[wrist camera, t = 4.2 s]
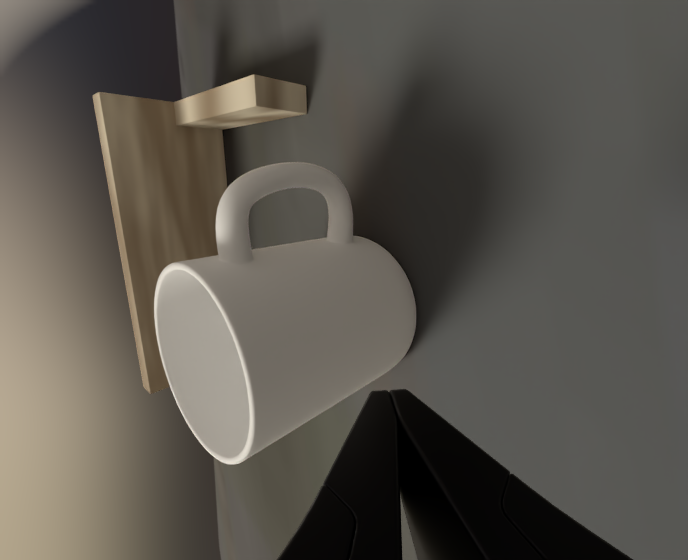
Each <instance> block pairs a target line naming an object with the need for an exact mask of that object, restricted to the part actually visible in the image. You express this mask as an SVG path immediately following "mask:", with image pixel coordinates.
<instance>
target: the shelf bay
mask: <svg viewBox="0 0 688 560" xmlns="http://www.w3.org/2000/svg"><path fill="white" fill-rule="evenodd" d="M93 101H94V107H95V112H96V119H97V124H98V130H99V136H100V141H101V147H102V152H103V159H104V164H105V170H106V176H107V181H108V187H109V193H110V198H111V203H112V209H113V215H114V221H115V226H116V232H117V238H118V243H119V250H120V255H121V260H122V267H123V272H124V278H125V284H126V289H127V295H128V301H129V306H130V312H131V318H132V323H133V329H134V335H135V340H136V346H137V352H138V358H139V363H140V369H141V375H142V380H143V386H144V388H145V389H146V390H147V391H148V392H149V393H150V394H152V393H155V392H157V391H160V390H162V389H165V388H167V387H170V385H169V382H168V379H167V376H166V373H165V370H164V367H163V363H162V359H161V355H160V351H159V346H158V341H157V336H156V328H155V318H154V297H155V290H156V285H157V281H158V278H159V276H160V274H161V272H162V271H163V269H164V268H165V267H166V266H168V265H169V264H171V263H174V262H179V261H186V260H192V259H198V258H204V257H210V256H216V255H218V249H217V241H216V214H217V208H218V205H219V202H220V199H221V197H222V195H223V193H224V192H225V190H226V189H227V177H226V166H225V155H224V144H223V133H222V130H224V129H229V128H235V127H240V126H245V125H251V124H256V123H261V122H267V121H272V120H277V119H282V118H288V117H293V116H298V115H304V114H307V100H306V86H304V85H300V84H296V83H291V82H287V81H282V80H278V79H273V78H269V77H264V76H260V75H256V74H253V75H250V76H248V77H245V78H242V79H239V80H236V81H233V82H230V83H228V84H225V85H222V86H219V87H216V88H213V89H210V90H207V91H205V92H202V93H199V94H196V95H193V96H190V97H187V98H185V99H182V100H179V101H176V102H168V101H161V100H154V99H146V98H139V97H132V96H124V95H117V94H110V93H102V92H98V93H96V94H95V95H93Z"/></svg>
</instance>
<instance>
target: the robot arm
mask: <svg viewBox="0 0 688 560" xmlns="http://www.w3.org/2000/svg"><path fill="white" fill-rule="evenodd" d="M400 495H401V499H402V503H403V507H404V510H405V514H406V518H407V521H408V525H409V529H410V532H411V536H412V540H413V543H414V547H415V551H416V554H417V558H418V560H633V559H631V558H630V557H628V556H627V555H625V554H624V553H622V552H621V551H619V550H618V549H616V548H615V547H613V546H612V545H610V544H609V543H607V542H606V541H605V540H603V539H602V538H600V537H599V536H597V535H596V534H594V533H593V532H591V531H590V530H588V529H587V528H585V527H584V526H582V525H581V524H580V523H578V522H577V521H575V520H574V519H572V518H571V517H570V516H568V515H567V514H565V513H564V512H562V511H561V510H559V509H558V508H557V507H555V506H554V505H552V504H551V503H550V502H549V501H547V500H546V499H545V498H543V497H542V496H541V495H539V494H538V493H537V492H535V491H534V490H533V489H531V488H530V487H529V486H528V485H526V484H525V483H524V482H523V481H521V480H520V479H519V478H517V477H516V476H515V475H514V474H510V472H509V471H508V470H507V469H506V468H505V467H503V466H502V465H501V464H500V463H498V462H497V461H496V460H495V459H493V458H492V457H491V456H490V455H488V454H487V453H486V452H485V451H483V450H482V449H481V448H480V447H478V446H477V445H476V444H475V443H473V442H472V441H471V440H470V439H468V438H467V437H466V436H465V435H463V434H462V433H461V432H460V431H458V430H457V429H456V428H455V427H453V426H452V425H451V424H450V423H448V422H447V421H446V420H445V419H443V418H442V417H441V416H439V415H438V414H437V413H436V412H434V411H433V410H432V409H431V408H429V407H428V406H427V405H426V404H424V403H423V402H422V401H421V400H419V399H418V398H417V397H416V396H414V395H413V394H412V393H411V392H409V391H408V390H406V389H398V390H391V391H390V392H388V391H386V390H382V391H372V392H371V393H370V394H369V396H368V398H367V400H366V402H365V404H364V406H363V408H362V410H361V412H360V413H359V415H358V417H357V419H356V421H355V423H354V425H353V427H352V429H351V431H350V433H349V435H348V437H347V439H346V440H345V442H344V444H343V446H342V448H341V450H340V452H339V454H338V456H337V458H336V460H335V462H334V464H333V465H332V467H331V469H330V471H329V473H328V475H327V477H326V479H325V481H324V483H323V486H321V488H320V490H319V492H318V494H317V496H316V498H315V500H314V502H313V503H312V505H311V507H310V509H309V510H308V512H307V514H306V516H305V517H304V519H303V521H302V523H301V524H300V526H299V527H298V529H297V530H296V532H295V533H294V535H293V536H292V538H291V539H290V541H289V542H288V544H287V545H286V547H285V548H284V550H283V551H282V553H281V554H280V555H279V557H278V558H277V560H402V537H401V506H400Z"/></svg>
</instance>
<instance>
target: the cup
mask: <svg viewBox="0 0 688 560" xmlns="http://www.w3.org/2000/svg"><path fill="white" fill-rule="evenodd" d="M289 188H309V189H313V190H316V191H318V192H320V193H321V194H322V195H323V196H324V197H325V199H326V202H327V205H328V213H329V221H328V232H327V237H326V238H320V239H314V240H308V241H302V242H296V243H290V244H283V245H277V246H271V247H265V248H259V249H253V250H252V249H251V242H250V235H249V224H248V218H249V212H250V209H251V207H252V205H253V204H254V203H255V202H256V201H258V200H259V199H261V198H262V197H264V196H266V195H269V194H271V193H274V192H276V191H280V190H284V189H289ZM216 241H217V249H218V255H216V256H210V257H204V258H198V259H192V260H186V261H179V262H174V263H171V264H169V265H168V266H166V267H165V268H164V269H163V271H162V272H161V274H160V276H159V278H158V281H157V285H156V290H155V297H154V318H155V328H156V336H157V341H158V346H159V351H160V355H161V359H162V363H163V367H164V370H165V373H166V376H167V379H168V382H169V385H170V388H171V390H172V393H173V395H174V398H175V400H176V402H177V405H178V407H179V409H180V411H181V413H182V415H183V416H184V418H185V420H186V422H187V424H188V426H189V427H190V429H191V430H192V432H193V434H194V435H195V436H196V438H197V439H198V440H199V442H200V443H201V444H202V446H203V447H204V448H205V449H206V450H207V451H208V452H209V453H210V454H211V455H212V456H214V457H215V458H216V459H218V460H219V461H221V462H223V463H226V464H239V463H241V462H243V461H244V460H246V459H248V458H249V457H251V456H252V455H254V454H256V453H257V452H259V451H261V450H262V449H264V448H265V447H267V446H269V445H270V444H272V443H273V442H275V441H277V440H278V439H280V438H282V437H283V436H285V435H286V434H288V433H290V432H291V431H293V430H294V429H296V428H298V427H299V426H301V425H303V424H304V423H306V422H307V421H309V420H311V419H312V418H314V417H315V416H317V415H319V414H320V413H322V412H324V411H325V410H327V409H328V408H330V407H332V406H333V405H335V404H336V403H338V402H340V401H341V400H343V399H345V398H346V397H348V396H349V395H351V394H353V393H354V392H356V391H357V390H359V389H361V388H362V387H364V386H366V385H367V384H369V383H370V382H372V381H374V380H375V379H377V378H378V377H380V376H382V375H383V374H385V373H386V372H388V371H389V370H390V369H392V368H393V367H394V366H396V365H397V364H398V363H399V362H400V361H401V360H402V359H403V357H404V356H405V355H406V353H407V351H408V350H409V348H410V345H411V343H412V341H413V337H414V334H415V329H416V304H415V298H414V294H413V291H412V288H411V285H410V282H409V280H408V278H407V276H406V274H405V272H404V271H403V269H402V267H401V266H400V265H399V263H398V262H397V261H396V260H395V258H394V257H393V256H392V255H391V254H390V253H389V252H388V251H387V250H385V249H384V248H383V247H382V246H380V245H378V244H377V243H375V242H373V241H371V240H369V239H366V238H363V237H359V236H353V211H352V204H351V200H350V197H349V194H348V192H347V189H346V188H345V186H344V185H343V183H342V181H341V180H340V179H339V178H338V177H337V176H336V175H335V174H334V173H332V172H331V171H329V170H327V169H325V168H323V167H321V166H318V165H315V164H310V163H303V162H285V163H277V164H272V165H267V166H263V167H260V168H257V169H254V170H251V171H249V172H247V173H245V174H243V175H242V176H240V177H239V178H237V179H236V180H235V181H233V182H232V183H231V184H230V185H229V186H228V188H227V189H226V190H225V192H224V193H223V195H222V197H221V199H220V202H219V205H218V208H217V214H216Z"/></svg>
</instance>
